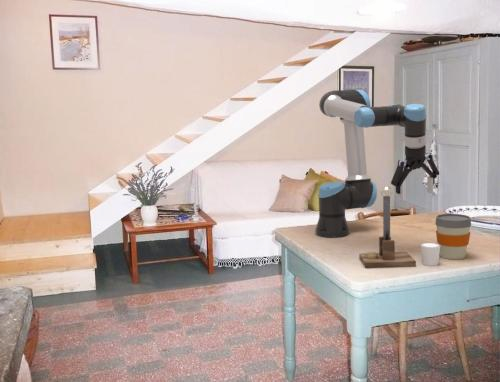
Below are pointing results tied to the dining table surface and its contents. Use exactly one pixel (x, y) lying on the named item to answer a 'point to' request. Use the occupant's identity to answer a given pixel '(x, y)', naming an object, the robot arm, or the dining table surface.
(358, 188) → the robot arm
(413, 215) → the dining table surface
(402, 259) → the lever stand
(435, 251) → the white cylinder
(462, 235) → the reusable coffee cup
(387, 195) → the lever
